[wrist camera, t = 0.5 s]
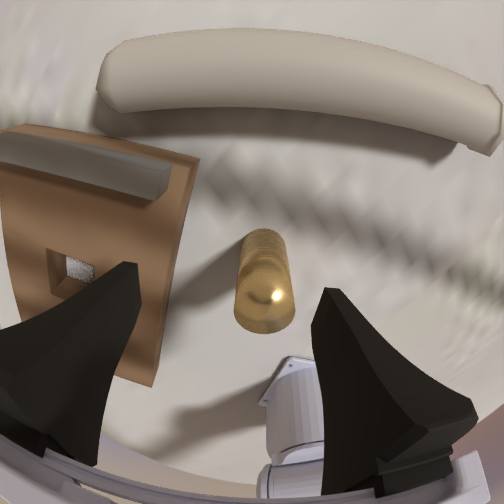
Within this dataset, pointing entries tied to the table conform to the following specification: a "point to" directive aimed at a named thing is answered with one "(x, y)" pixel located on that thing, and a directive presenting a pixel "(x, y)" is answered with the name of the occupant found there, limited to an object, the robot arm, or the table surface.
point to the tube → (300, 81)
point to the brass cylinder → (264, 284)
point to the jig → (93, 223)
